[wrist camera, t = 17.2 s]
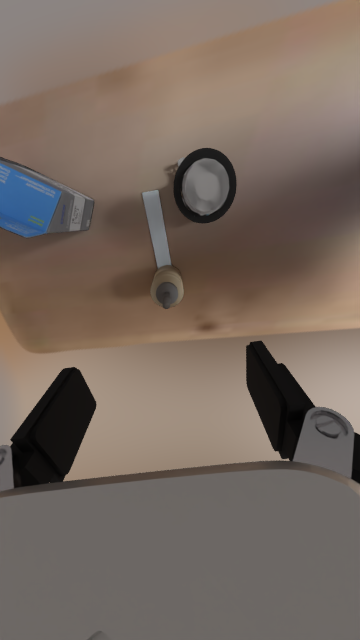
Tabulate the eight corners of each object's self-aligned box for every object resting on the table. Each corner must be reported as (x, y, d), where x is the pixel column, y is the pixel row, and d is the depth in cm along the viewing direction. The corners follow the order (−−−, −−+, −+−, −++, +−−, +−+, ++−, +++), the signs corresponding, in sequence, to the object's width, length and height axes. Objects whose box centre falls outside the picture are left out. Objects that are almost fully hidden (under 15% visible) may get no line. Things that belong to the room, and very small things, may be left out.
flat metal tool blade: (158, 190, 24) (158, 189, 24) (175, 290, 30) (175, 290, 30) (142, 192, 24) (142, 192, 24) (163, 292, 30) (162, 292, 30)
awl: (179, 263, 28) (183, 283, 19) (183, 289, 30) (187, 320, 21) (152, 266, 28) (142, 289, 19) (156, 293, 30) (150, 324, 21)
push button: (160, 173, 24) (153, 146, 15) (201, 149, 23) (221, 105, 14) (183, 229, 26) (190, 234, 18) (221, 209, 26) (248, 205, 17)
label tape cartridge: (96, 199, 25) (36, 184, 14) (89, 231, 26) (29, 240, 15) (18, 161, 23) (-126, 108, 12) (15, 198, 24) (-114, 181, 13)
